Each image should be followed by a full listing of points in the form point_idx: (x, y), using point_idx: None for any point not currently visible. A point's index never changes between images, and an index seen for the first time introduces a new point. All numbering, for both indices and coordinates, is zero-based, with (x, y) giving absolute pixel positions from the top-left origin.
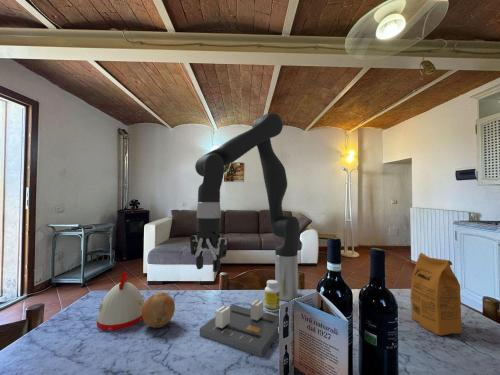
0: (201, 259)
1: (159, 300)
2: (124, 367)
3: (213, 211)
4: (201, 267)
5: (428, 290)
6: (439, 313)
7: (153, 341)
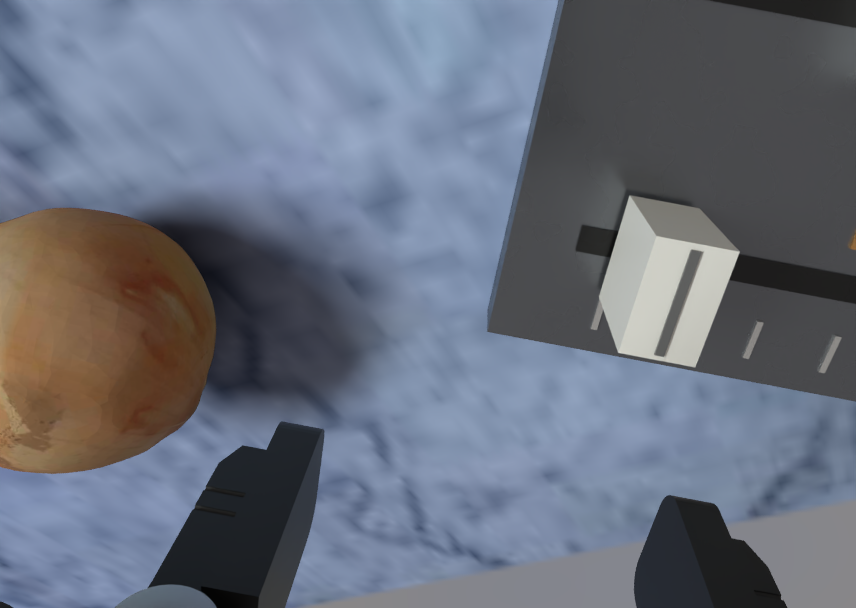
0: (273, 597)
1: (87, 452)
2: (291, 595)
3: None
4: (318, 470)
5: None
6: None
7: (257, 431)
